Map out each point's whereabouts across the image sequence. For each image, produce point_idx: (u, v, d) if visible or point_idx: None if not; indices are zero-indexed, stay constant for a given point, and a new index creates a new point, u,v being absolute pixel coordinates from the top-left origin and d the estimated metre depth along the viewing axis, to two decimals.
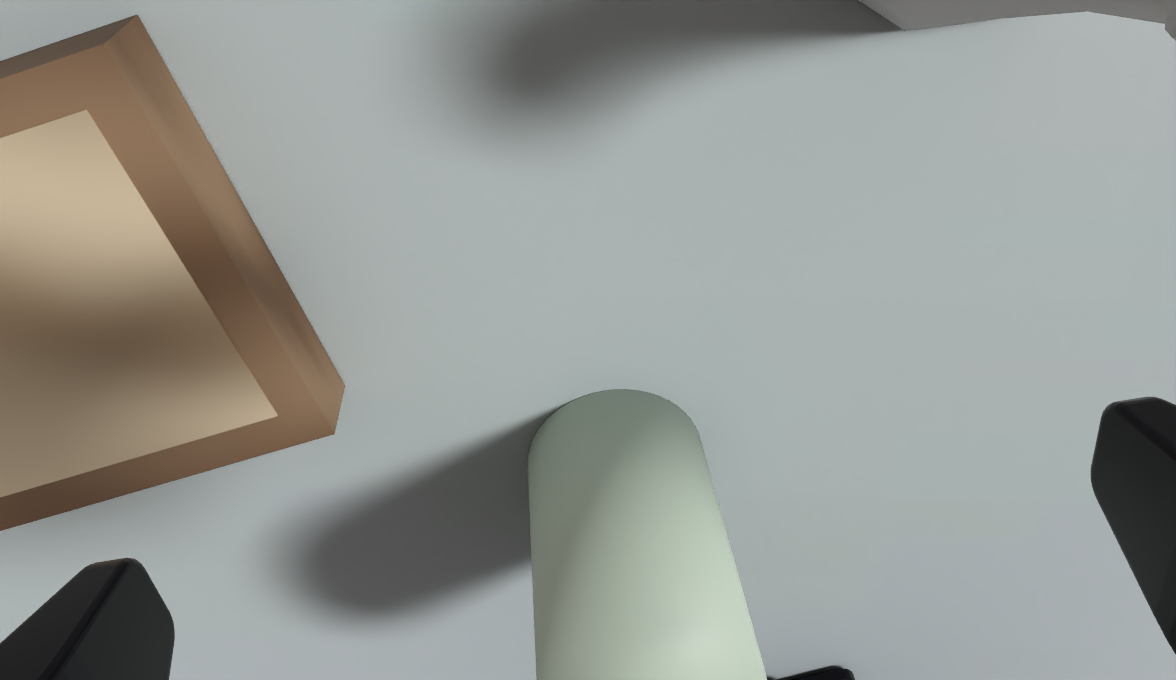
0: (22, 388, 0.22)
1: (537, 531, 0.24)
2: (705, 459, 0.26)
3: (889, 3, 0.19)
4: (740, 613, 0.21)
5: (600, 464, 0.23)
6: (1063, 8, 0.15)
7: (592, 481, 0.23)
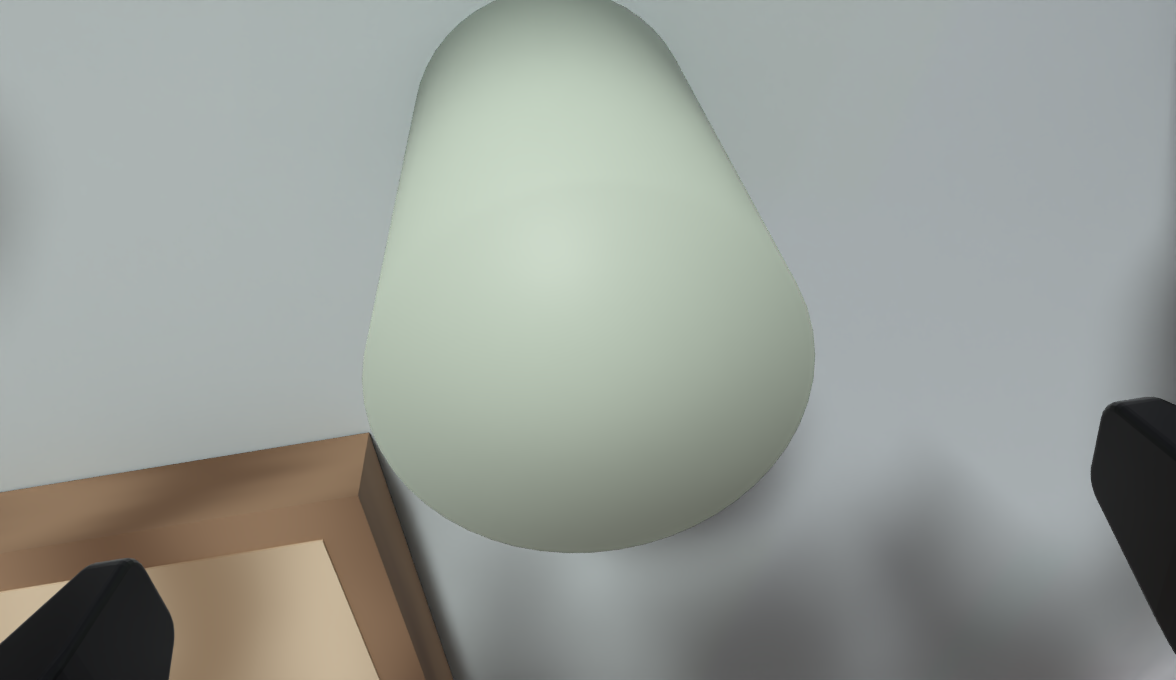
0: None
1: None
2: (517, 12, 0.15)
3: None
4: (470, 175, 0.10)
5: None
6: None
7: None
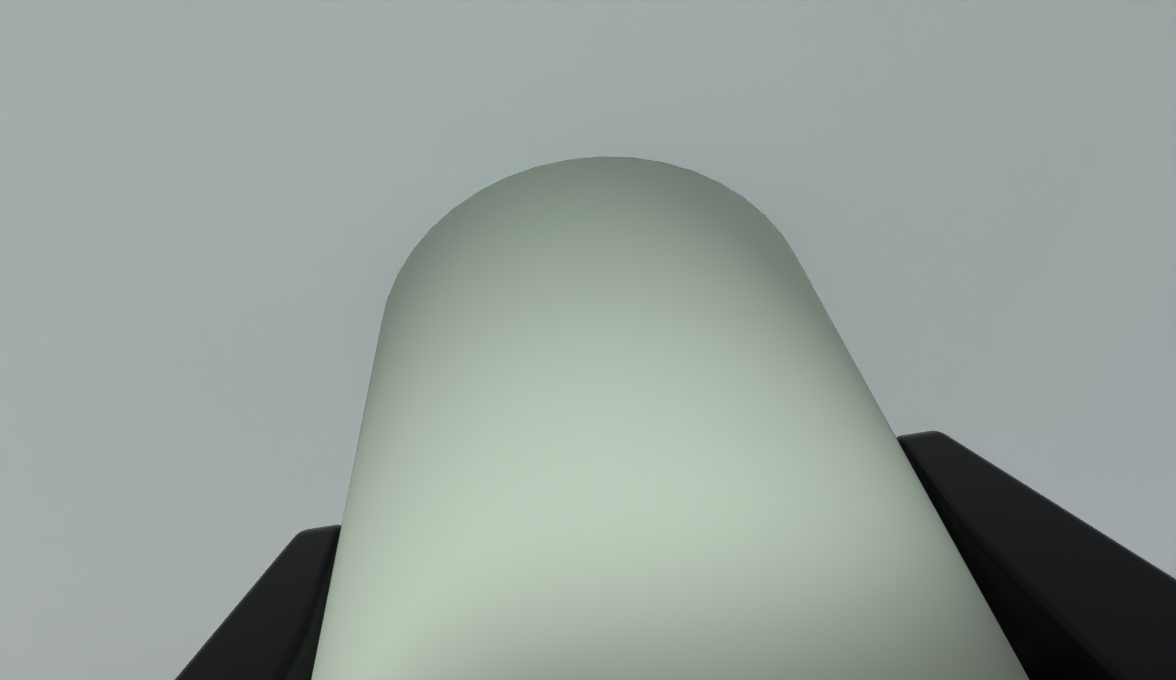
0: None
1: None
2: (549, 219, 0.09)
3: None
4: None
5: None
6: None
7: None
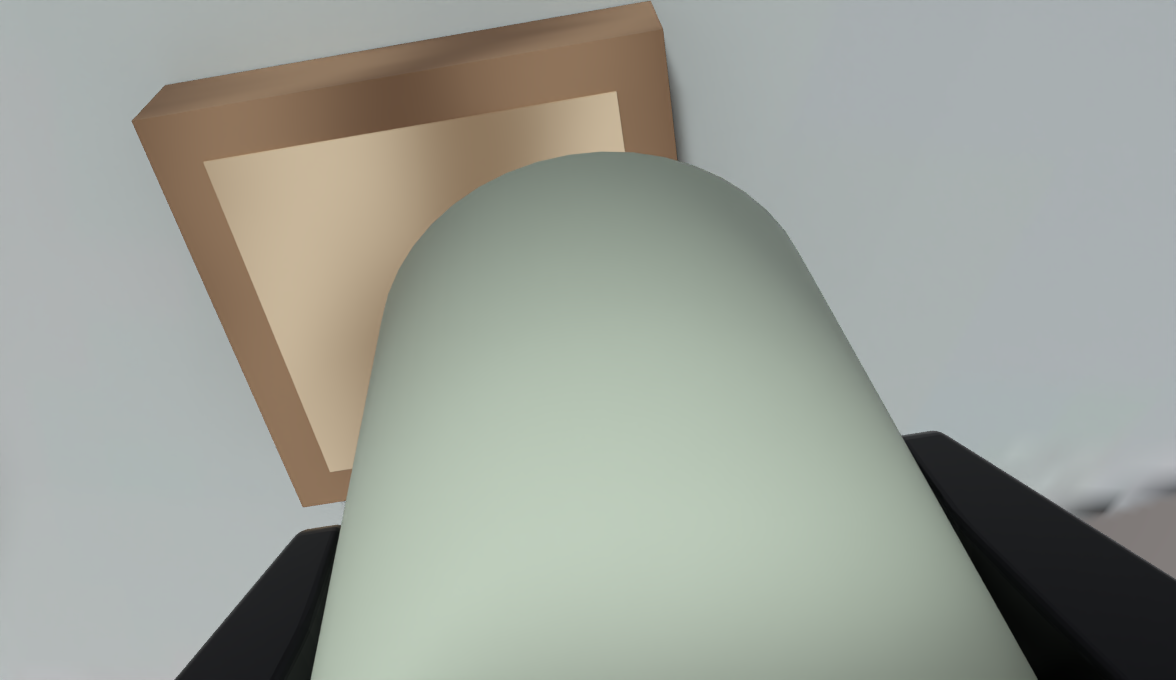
0: None
1: None
2: (550, 214, 0.09)
3: None
4: None
5: None
6: None
7: None
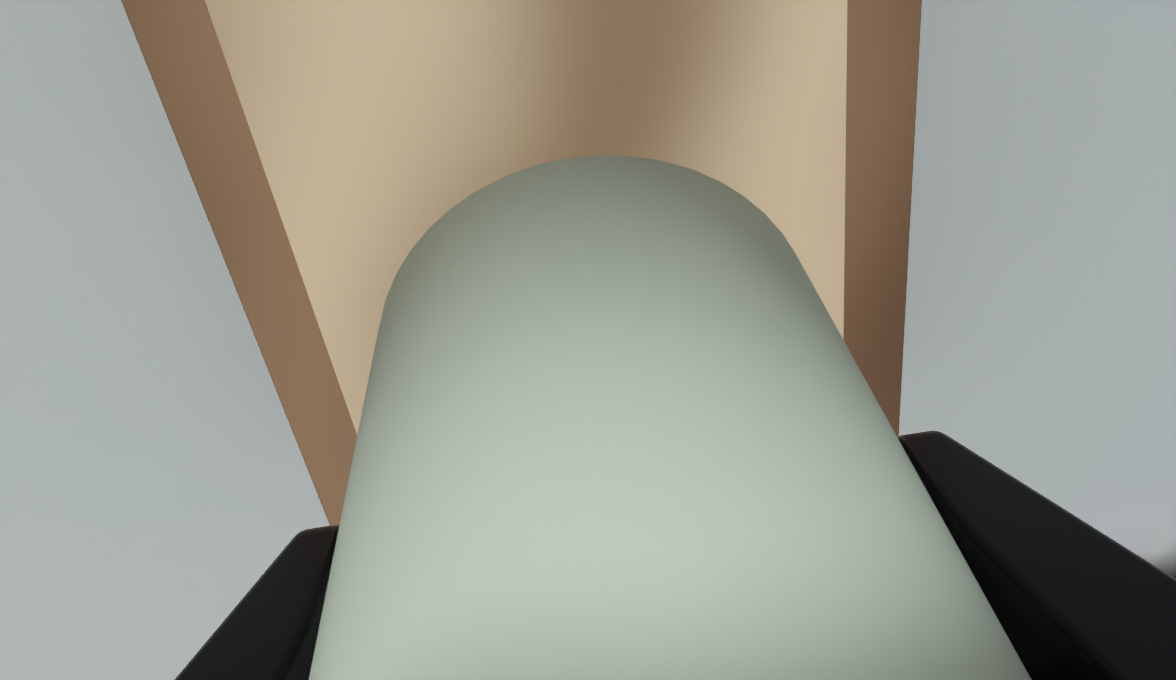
0: None
1: None
2: (548, 218, 0.09)
3: None
4: None
5: None
6: None
7: None
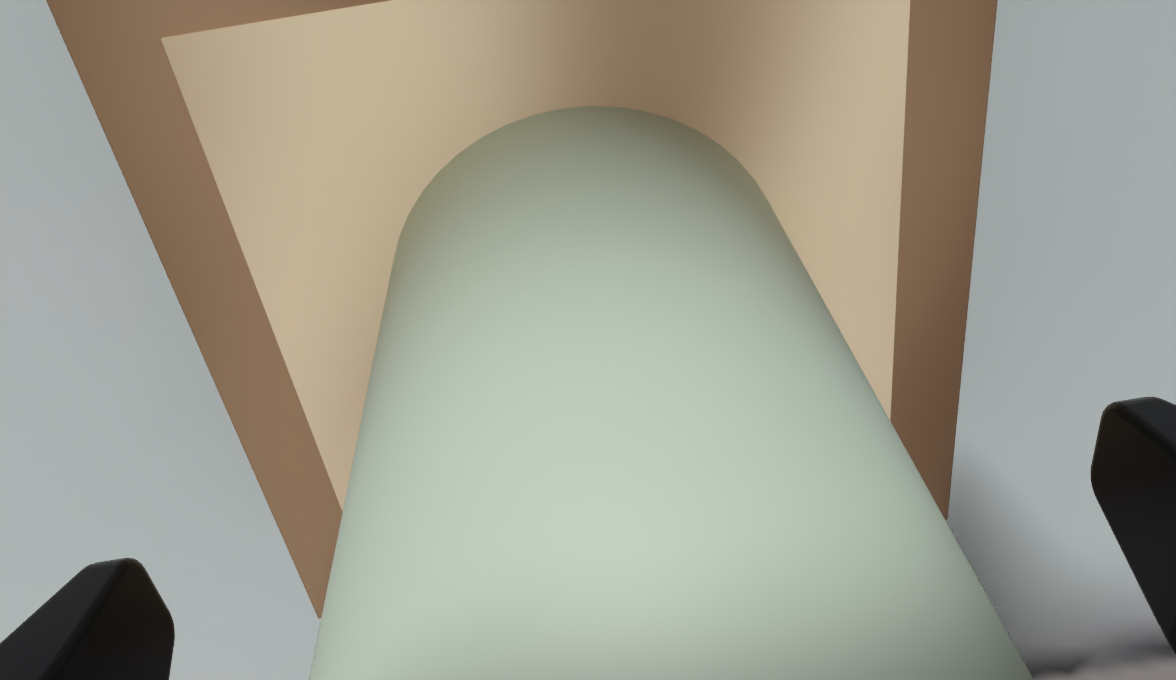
0: None
1: None
2: (544, 155, 0.10)
3: None
4: (464, 619, 0.05)
5: None
6: None
7: None
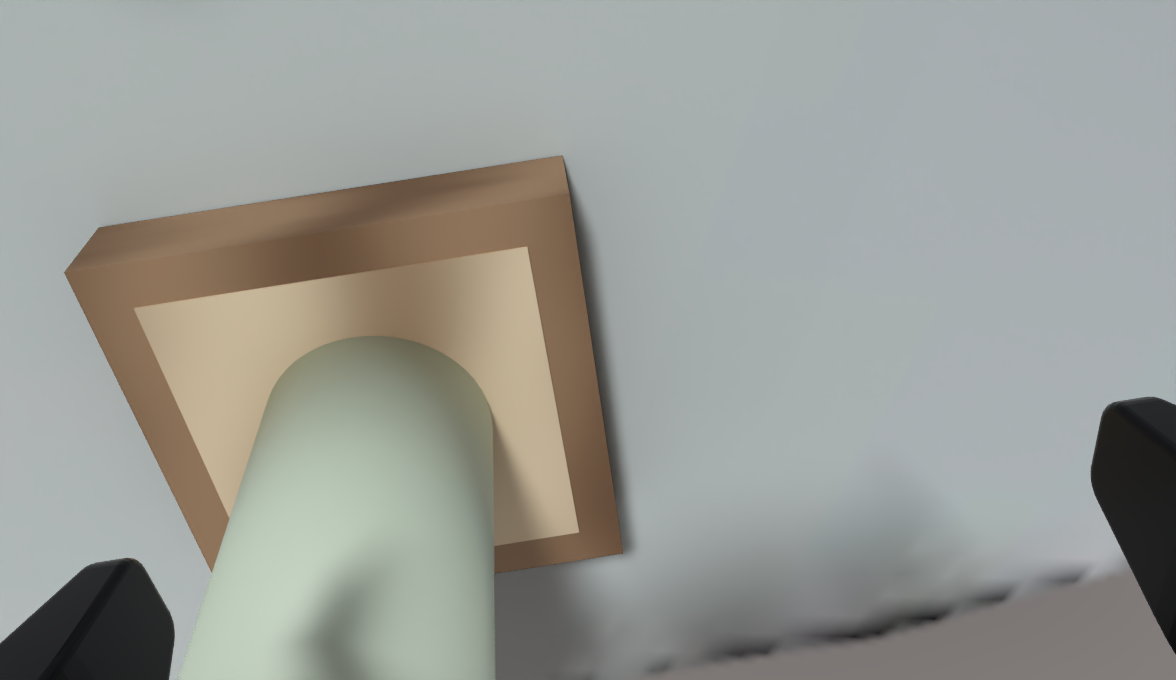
0: None
1: None
2: (332, 373, 0.19)
3: None
4: (239, 608, 0.14)
5: None
6: None
7: None
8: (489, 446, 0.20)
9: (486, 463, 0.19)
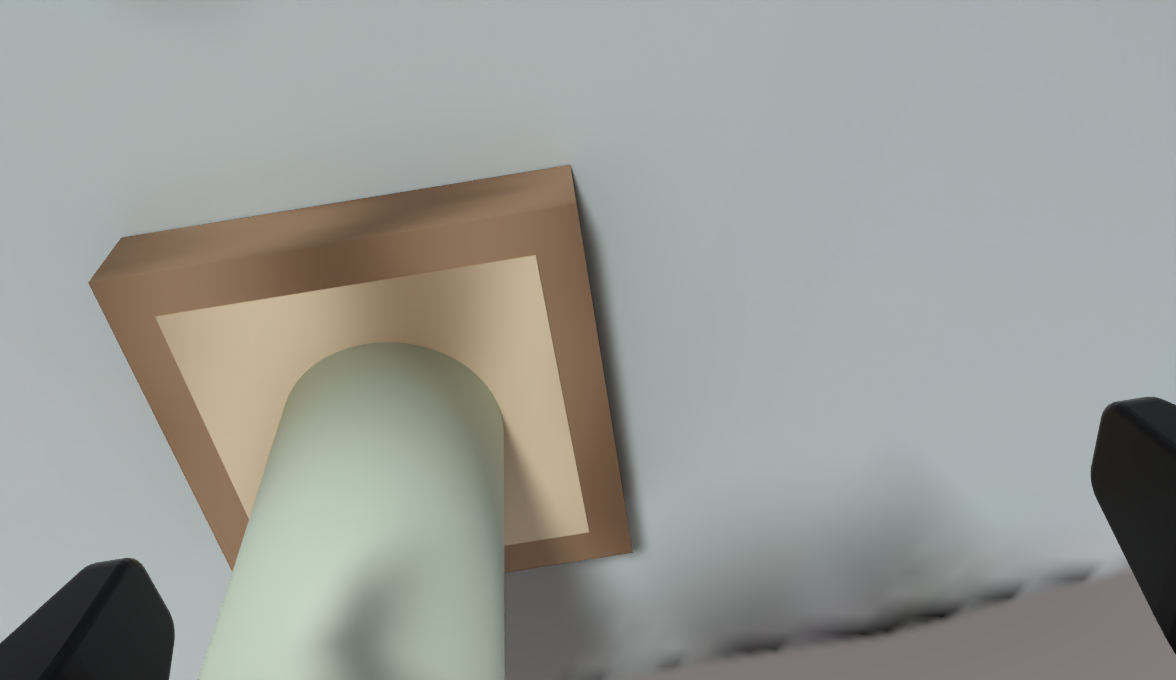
0: None
1: None
2: (346, 380, 0.19)
3: None
4: (257, 610, 0.15)
5: None
6: None
7: None
8: (500, 449, 0.21)
9: (496, 466, 0.20)
